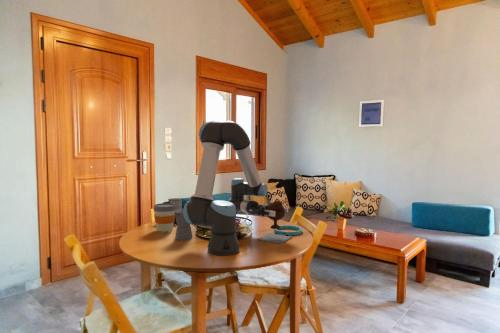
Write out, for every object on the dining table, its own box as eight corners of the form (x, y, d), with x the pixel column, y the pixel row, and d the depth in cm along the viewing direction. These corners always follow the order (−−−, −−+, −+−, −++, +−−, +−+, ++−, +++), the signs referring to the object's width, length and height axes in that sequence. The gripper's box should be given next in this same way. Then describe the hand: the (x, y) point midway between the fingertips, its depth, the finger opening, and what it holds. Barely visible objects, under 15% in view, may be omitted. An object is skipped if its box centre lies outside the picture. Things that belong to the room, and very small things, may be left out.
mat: (281, 244, 170) (281, 242, 170) (257, 240, 177) (257, 238, 177) (292, 237, 182) (292, 236, 182) (269, 234, 189) (269, 232, 189)
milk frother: (177, 219, 225) (177, 197, 224) (190, 223, 214) (190, 200, 213) (158, 222, 215) (158, 199, 214) (171, 227, 204) (171, 203, 203)
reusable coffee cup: (150, 232, 190) (150, 206, 189) (158, 227, 203) (158, 202, 202) (171, 233, 189) (171, 207, 188) (178, 228, 201) (178, 203, 200)
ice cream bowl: (285, 225, 185) (285, 198, 184) (285, 230, 174) (285, 202, 172) (266, 224, 186) (266, 198, 185) (264, 230, 175) (265, 201, 174)
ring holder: (295, 237, 183) (295, 233, 183) (269, 232, 191) (269, 229, 191) (305, 230, 197) (305, 227, 197) (281, 227, 205) (281, 223, 205)
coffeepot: (181, 242, 171) (181, 208, 170) (168, 239, 176) (168, 206, 175) (201, 236, 184) (201, 203, 183) (188, 233, 189) (188, 202, 188)
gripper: (262, 210, 200) (293, 215, 186) (236, 216, 182) (267, 223, 168) (262, 197, 199) (293, 202, 185) (236, 203, 181) (268, 208, 167)
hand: (281, 212), depth 176 cm, fingers closed on ice cream bowl, 11 cm apart
